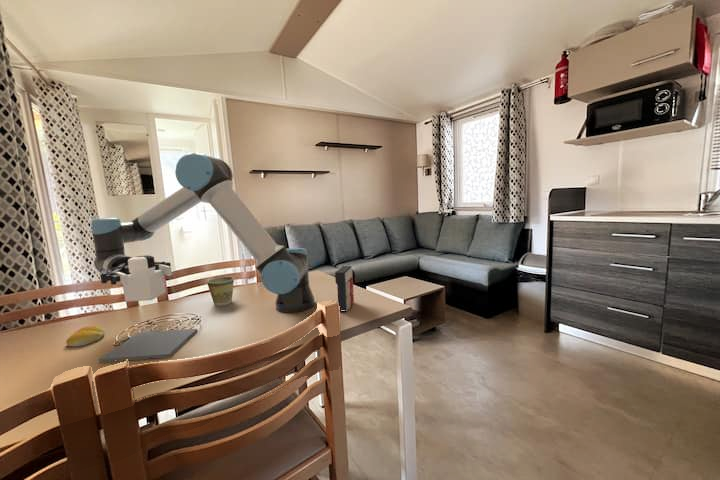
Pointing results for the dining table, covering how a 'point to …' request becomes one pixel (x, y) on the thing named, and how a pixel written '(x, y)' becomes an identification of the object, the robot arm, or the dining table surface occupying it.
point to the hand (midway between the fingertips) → (149, 275)
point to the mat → (150, 345)
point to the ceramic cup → (221, 290)
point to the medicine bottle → (143, 280)
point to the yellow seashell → (85, 336)
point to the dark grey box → (344, 287)
